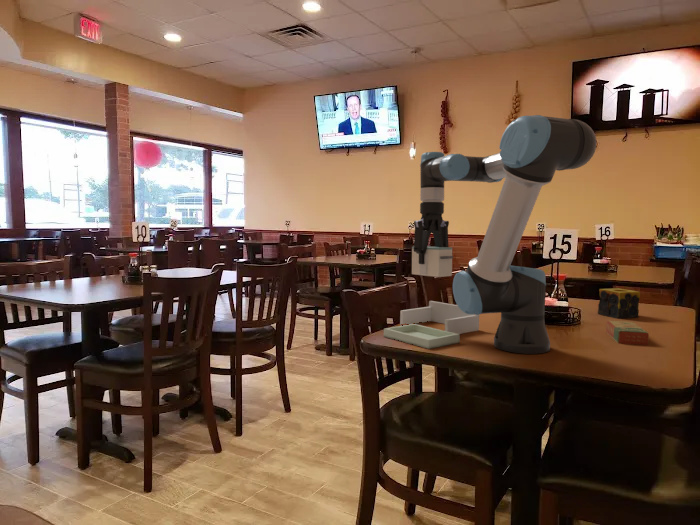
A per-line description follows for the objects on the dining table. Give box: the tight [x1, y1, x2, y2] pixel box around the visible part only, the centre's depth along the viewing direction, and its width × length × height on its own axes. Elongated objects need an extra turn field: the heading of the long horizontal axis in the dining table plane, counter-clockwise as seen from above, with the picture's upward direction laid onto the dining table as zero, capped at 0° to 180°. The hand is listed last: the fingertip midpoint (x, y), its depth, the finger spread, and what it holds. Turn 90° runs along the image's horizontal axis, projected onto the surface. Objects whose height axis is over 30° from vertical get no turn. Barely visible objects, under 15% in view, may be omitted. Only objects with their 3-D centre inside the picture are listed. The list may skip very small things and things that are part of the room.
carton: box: [605, 320, 649, 346], centre depth 161 cm, size 8×16×4 cm, turn 166°
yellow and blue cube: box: [597, 287, 641, 320], centre depth 199 cm, size 10×10×10 cm
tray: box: [383, 323, 461, 350], centre depth 157 cm, size 19×13×2 cm
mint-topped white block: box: [411, 245, 454, 278], centre depth 167 cm, size 13×6×9 cm, turn 37°
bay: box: [399, 300, 480, 335], centre depth 175 cm, size 21×15×7 cm
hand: (431, 273), depth 168 cm, fingers closed on mint-topped white block, 6 cm apart
